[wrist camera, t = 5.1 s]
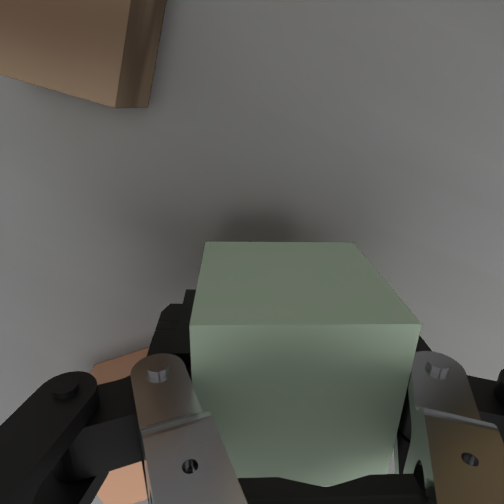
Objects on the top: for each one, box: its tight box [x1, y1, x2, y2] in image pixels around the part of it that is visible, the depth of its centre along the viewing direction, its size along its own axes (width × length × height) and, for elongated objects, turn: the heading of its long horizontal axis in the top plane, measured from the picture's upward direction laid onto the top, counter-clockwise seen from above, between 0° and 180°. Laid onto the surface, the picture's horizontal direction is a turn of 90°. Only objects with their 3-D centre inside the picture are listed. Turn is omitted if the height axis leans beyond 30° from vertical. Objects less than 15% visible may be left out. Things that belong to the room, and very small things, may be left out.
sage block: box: [189, 242, 422, 486], centre depth 11 cm, size 5×5×5 cm
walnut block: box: [0, 0, 167, 108], centre depth 13 cm, size 5×5×5 cm
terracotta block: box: [90, 348, 149, 504], centre depth 19 cm, size 5×5×5 cm
